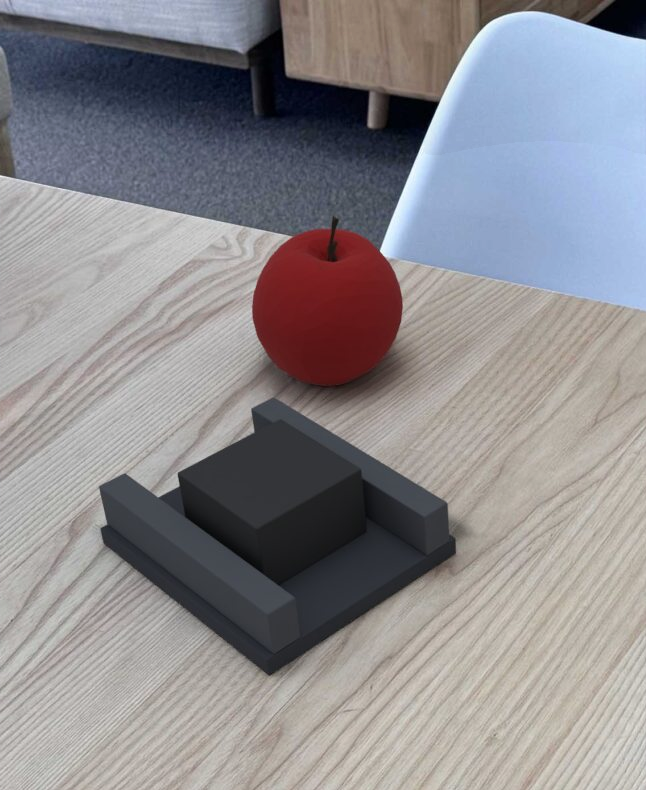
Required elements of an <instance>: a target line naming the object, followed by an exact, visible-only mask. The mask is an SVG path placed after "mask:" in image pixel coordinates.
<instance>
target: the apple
mask: <svg viewBox="0 0 646 790" xmlns="http://www.w3.org/2000/svg"><path fill="white" fill-rule="evenodd" d="M339 221H340V219H339V218H337V217H336V216H334V215H332V219H331V228H314V229H310V230H307V231H303V232H300V233H298V234H296V235H293V236H291V237H290V238H289V239H287V240H286V241H285V242H283V243H282V244H281V245H279V246H278V248H277V249H276V250H275V251H274V252H273V253H272V254H271V256H270V257H269V258H268V260H267V262H266V263H265V265H264V266H263V268H262V269H261V271H260V274H259V277H258V278H257V281H256V284H255V288H254V291H253V295H252V303H251V315H252V322H253V325H254V329H255V333H256V334H255V335H256V337H257V339H258V340H259V343H260V344H261V346H262V348H263V349H264V351H265V353H266V355H267V356H268V358H269V359H270V360H271V361H272V363H274V364H275V366H276V367H277V368H278V369H279V370H281V371H282V372H284V373H286V374H287V375H288V376H290V377H291V378H294V379H295V380H298V381H300V382H302V383H306V384H312V385H315V386H324V387H325V386H326V387H333V386H340V385H343V384H347V383H349V382H351V381H353V380H355V379H357V378H359V377H362V376H363V375H364V374H367V373H368V372H370V371H372V370H373V369H375V367H376V366H377V365H378V364H379V363H380V362H381V361H382V360H384V358H385V357H386V355H387V354H388V353H389V351H390V349H391V348H392V346H393V344H394V342H395V341H396V339H397V337H398V332H399V330H400V327H401V324H402V318H403V311H404V310H403V309H404V306H403V305H404V304H403V294H402V289H401V285H400V283H399V280H398V277H397V275H396V272H395V270H394V268H393V266H392V265H391V263H390V261H389V260H388V259H387V258H386V257H385V255H384V254H383V253H382V252H381V251H380V249H379V248H378V247H376V245H374V244H373V243H372V242H371V241H370V240H369V239H367V237H365V236H363V235H361V234H359V233H357V232H354V231H350V230H347V229H340V228H339V229H338V228H337V226H338V224H339Z"/></svg>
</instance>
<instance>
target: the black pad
mask: <svg viewBox="0 0 646 790" xmlns="http://www.w3.org/2000/svg"><path fill="white" fill-rule="evenodd" d="M177 478H178V485H179V486H180V491H181V496H182V502H183V507H184V513H185V517H186V518H187V519H188V520H190V521H191V522H192V523H194V524H195V525H197V526H198V527H199V528H201V529H202V530H203V531H205V532H206V533H207V534H209V535H210V536H212V537H213V538H214V539H216V540H217V541H218V542H220V543H221V544H223V545H224V546H225V547H227V548H228V549H229V550H231V551H232V552H233V553H235V554H236V555H238V556H239V557H240V558H242V559H243V560H244V561H246V562H247V563H248V564H250V565H251V566H253V567H254V568H255V569H257V570H258V571H259V572H261V573H262V574H263V575H265V576H266V577H268V578H269V579H270V580H272V581H273V582H274V583H276V584H277V585H279V584H281V583H283V582H284V581H286V580H288V579H289V578H291V577H292V576H294V575H296V574H297V573H299V572H301V571H302V570H304V569H306V568H307V567H309V566H310V565H312V564H314V563H315V562H317V561H319V560H320V559H322V558H324V557H325V556H327V555H329V554H330V553H332V552H333V551H335V550H337V549H338V548H340V547H342V546H343V545H345V544H347V543H348V542H350V541H351V540H353V539H355V538H356V537H358V536H360V535H361V534H363V533H365V532H366V531H367V526H366V515H365V504H364V493H363V483H362V472H361V469H360V468H359V467H357V466H356V465H354V464H352V463H351V462H349V461H348V460H346V459H344V458H343V457H341V456H340V455H338V454H336V453H335V452H333V451H331V450H330V449H328V448H327V447H325V446H323V445H322V444H320V443H319V442H317V441H315V440H314V439H312V438H311V437H309V436H307V435H306V434H304V433H302V432H301V431H299V430H298V429H296V428H294V427H293V426H291V425H290V424H288V423H286V422H285V421H283V420H282V419H279V420H278V421H276V422H274V423H272V424H270V425H268V426H266V427H264V428H262V429H260V430H258V431H256V432H255V433H254V432H253V433H250V434H248V435H246V436H245V437H243V438H241V439H240V440H237V441H236V442H233V443H231V444H229V445H228V446H226V447H224V448H222V449H220V450H218V451H216V452H214V453H212V454H210V455H209V456H207V457H205V458H203V459H201V460H199V461H197V462H195V463H193V464H192V465H189V466H188V467H186V468H183V469H182V470H179V471H178V472H177Z"/></svg>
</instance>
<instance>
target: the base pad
mask: <svg viewBox="0 0 646 790" xmlns="http://www.w3.org/2000/svg"><path fill="white" fill-rule="evenodd" d="M250 410H251V416H252V417H251V419H252V426H253V431H254V432H253V433H255V432H256V431H258V430H260V429H262V428H264V427H266V426H268V425H270V424H272V423H274V422H276V421H278V420H279V419H282V420H283V421H285V422H286V423H288V424H290V425H291V426H293V427H294V428H296V429H298V430H299V431H301V432H302V433H304V434H306V435H307V436H309V437H311V438H312V439H314V440H315V441H317V442H319V443H320V444H322V445H323V446H325V447H327V448H328V449H330V450H331V451H333V452H335V453H336V454H338V455H340V456H341V457H343V458H344V459H346V460H348V461H349V462H351V463H352V464H354V465H356V466H357V467H359V468H360V469H361V472H362V483H363V493H364V504H365V515H366V526H367V531H366V532H365V533H363V534H361V535H360V536H358V537H356V538H355V539H353V540H351V541H350V542H348V543H347V544H345V545H343V546H342V547H340V548H338V549H337V550H335V551H333V552H332V553H330V554H329V555H327V556H325V557H324V558H322V559H320V560H319V561H317V562H315V563H314V564H312V565H310V566H309V567H307V568H306V569H304V570H302V571H301V572H299V573H297V574H296V575H294V576H292V577H291V578H289V579H288V580H286V581H284V582H283V583H281V584H279V585H277V584H276V583H274V582H273V581H272V580H270V579H269V578H268V577H266V576H265V575H263V574H262V573H261V572H259V571H258V570H257V569H255V568H254V567H253V566H251V565H250V564H248V563H247V562H246V561H244V560H243V559H242V558H240V557H239V556H238V555H236V554H235V553H233V552H232V551H231V550H229V549H228V548H227V547H225V546H224V545H223V544H221V543H220V542H218V541H217V540H216V539H214V538H213V537H212V536H210V535H209V534H207V533H206V532H205V531H203V530H202V529H201V528H199V527H198V526H197V525H195V524H194V523H192V522H191V521H190V520H188V519H187V518H186V517H185V513H184V507H183V502H182V496H181V491H180V485H179V486H177V487H175V488H173V489H172V490H170V491H168V492H165V493H164V494H161V495H159V496H157V495H156V494H155V493H153V492H152V491H151V490H149V489H148V488H146V487H145V486H143V485H142V484H141V483H140V482H138V481H136V480H135V479H134V478H132V477H131V476H130V475H128V474H127V473H126V472H125V473H122V474H120V475H118V476H116V477H114V478H111V479H110V480H108V481H106V482H104V483H102V484H99V486H98V489H99V494H100V498H101V503H102V507H103V511H104V517H105V521H106V525H103V526H101V527H100V528H99V529H100V533H101V538H102V542H103V544H104V545H105V546H107V547H108V548H109V549H110V550H112V551H113V552H114V553H115V554H116V555H118V556H119V557H120V558H122V559H123V560H124V561H125V562H127V563H128V564H129V565H131V567H133V568H134V569H135V570H137V571H138V572H139V573H140V574H142V575H143V576H144V577H146V578H147V580H149V581H150V582H152V584H154V585H156V586H157V587H158V588H159V589H160V590H162V591H163V592H164V593H166V594H167V595H168V596H169V597H171V598H172V599H173V600H174V601H176V602H177V603H178V604H179V605H181V606H182V607H183V608H184V609H186V610H187V611H188V612H189V613H191V614H192V615H193V616H195V618H197V619H198V620H199V621H200V622H201V623H203V624H204V625H205V626H206V627H208V628H210V629H211V630H212V631H213V632H214V633H216V634H217V635H218V636H220V637H221V638H222V639H223V640H225V641H226V642H227V643H228V644H229V645H231V646H232V647H233V648H234V649H236V650H237V651H238V652H240V653H241V654H242V655H243V656H245V658H247V659H248V660H250V661H251V662H252V663H253V664H255V666H257V667H258V668H259V669H260V670H262V671H264V672H265V674H267V675H268V676H270V675H273V673H275V672H277V671H278V670H279V669H281V668H283V667H284V666H285V665H287V664H288V663H290V662H292V661H293V660H294V659H295V660H296V658H298V657H300V656H301V655H303V654H304V653H305V652H307V651H308V650H310V649H312V648H313V647H314V646H316V645H318V644H319V643H321V642H323V641H324V640H325V639H327V638H328V637H330V636H331V635H333V634H335V633H336V632H338V631H340V630H341V629H342V628H344V627H345V626H347V625H348V624H349V623H352V621H354V620H356V619H357V618H359V617H360V616H362V615H363V614H365V613H366V612H368V611H370V610H371V609H372V608H374V607H376V606H378V605H379V604H380V603H382V602H383V601H385V600H387V599H388V598H390V597H391V596H393V595H395V593H397V592H399V591H400V590H402V589H403V588H405V587H406V586H408V585H409V584H411V583H412V582H414V581H415V580H417V579H418V578H420V577H421V576H423V575H424V574H426V573H428V572H429V571H431V570H432V569H433V568H435V567H437V566H438V565H439V564H442V563H443V562H445V561H446V560H447V559H449V558H451V557H452V556H454V555H455V554H456V553H457V543H456V537H454V536H453V535H452V534H450V524H449V522H450V521H449V505H448V504H449V503H448V502H447V501H445V500H444V499H442V498H440V497H439V496H438V495H436V494H434V493H432V492H431V491H429V490H428V489H426V488H424V487H423V486H421V485H419V484H418V483H417V482H414V481H413V480H412V479H410V478H408V477H406V476H405V475H403V474H401V473H399V472H398V471H396V470H395V469H393V468H391V467H390V466H388V465H386V464H384V463H383V462H381V460H380V461H379V460H378V459H376V458H375V457H373V456H371V455H370V454H368V453H367V452H365V451H364V450H362V449H360V448H359V447H356V446H355V445H353V444H352V443H350V442H349V441H347V440H345V439H344V438H342V437H340V436H339V435H337V434H336V433H333V431H330V430H328V429H327V428H326V427H324V426H322V425H320V424H319V423H318V422H315V421H314V420H312V419H311V418H309V417H307V416H306V415H304V414H302V413H301V412H299V411H298V410H296V409H294V408H292V407H291V406H289V405H288V404H286V403H284V402H282V401H281V400H279V399H278V398H276V397H271V398H268V399H267V400H265V401H263V402H261V403H259V404H257V405H255V406H253V407H251V408H250Z"/></svg>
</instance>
